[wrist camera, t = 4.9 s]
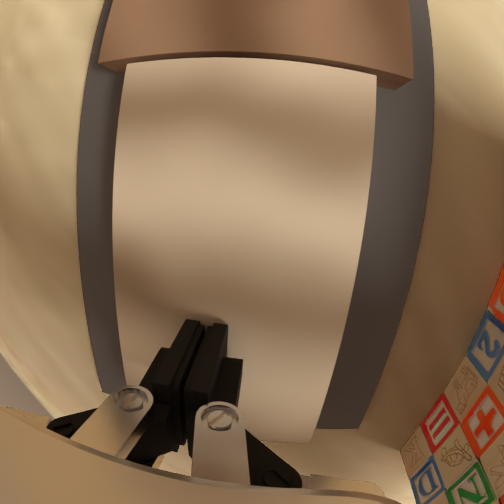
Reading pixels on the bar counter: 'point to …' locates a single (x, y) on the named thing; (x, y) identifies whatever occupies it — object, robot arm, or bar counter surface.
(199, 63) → the plank
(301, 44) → the laid board
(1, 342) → the bar counter surface
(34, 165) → the bar counter surface
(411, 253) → the underlay mat
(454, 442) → the stack of blocks
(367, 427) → the bar counter surface
